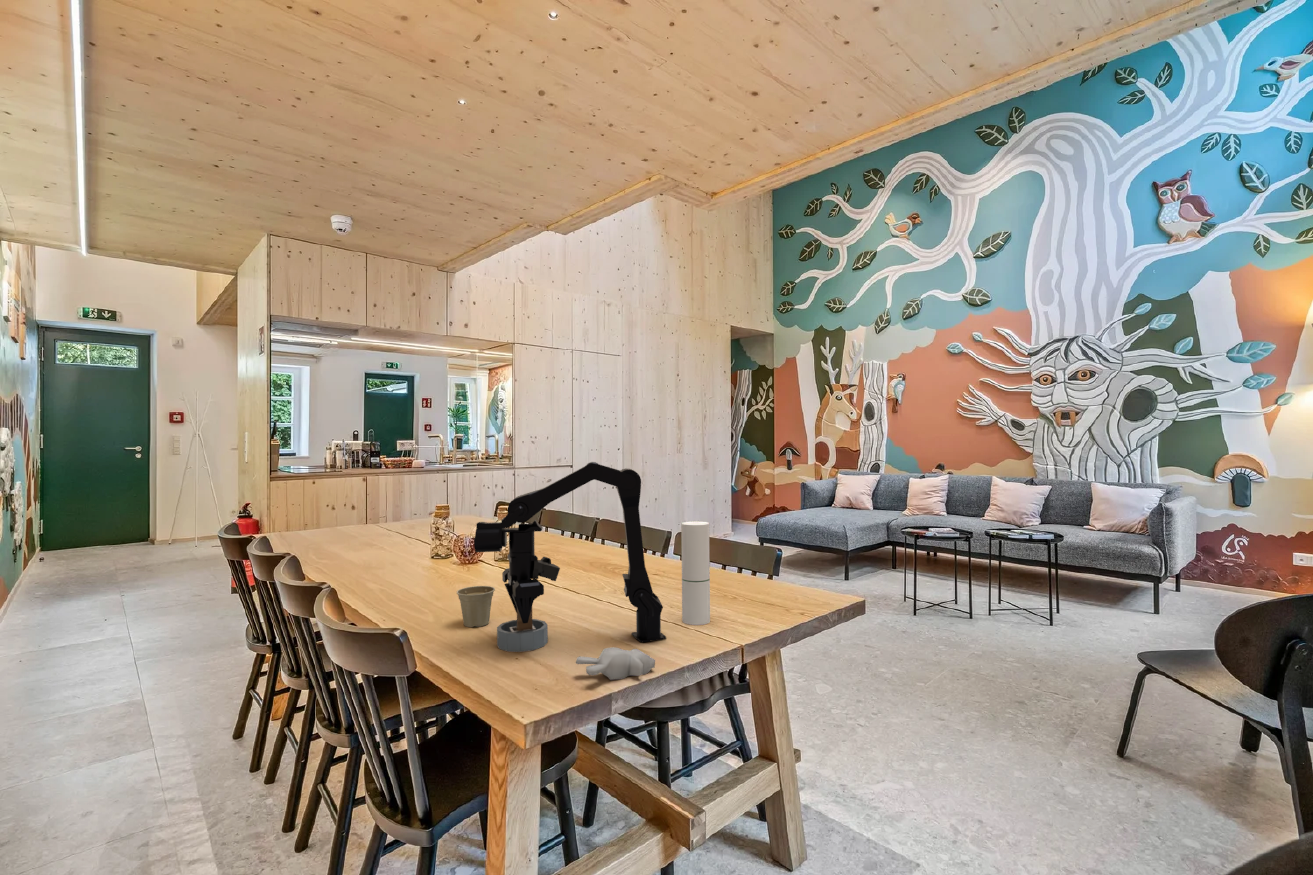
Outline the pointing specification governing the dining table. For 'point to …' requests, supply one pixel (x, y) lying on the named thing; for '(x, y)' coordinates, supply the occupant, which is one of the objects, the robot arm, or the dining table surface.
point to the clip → (514, 629)
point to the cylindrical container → (695, 573)
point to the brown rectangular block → (524, 625)
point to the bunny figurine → (618, 663)
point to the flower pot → (476, 605)
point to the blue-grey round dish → (522, 637)
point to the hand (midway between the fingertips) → (522, 618)
